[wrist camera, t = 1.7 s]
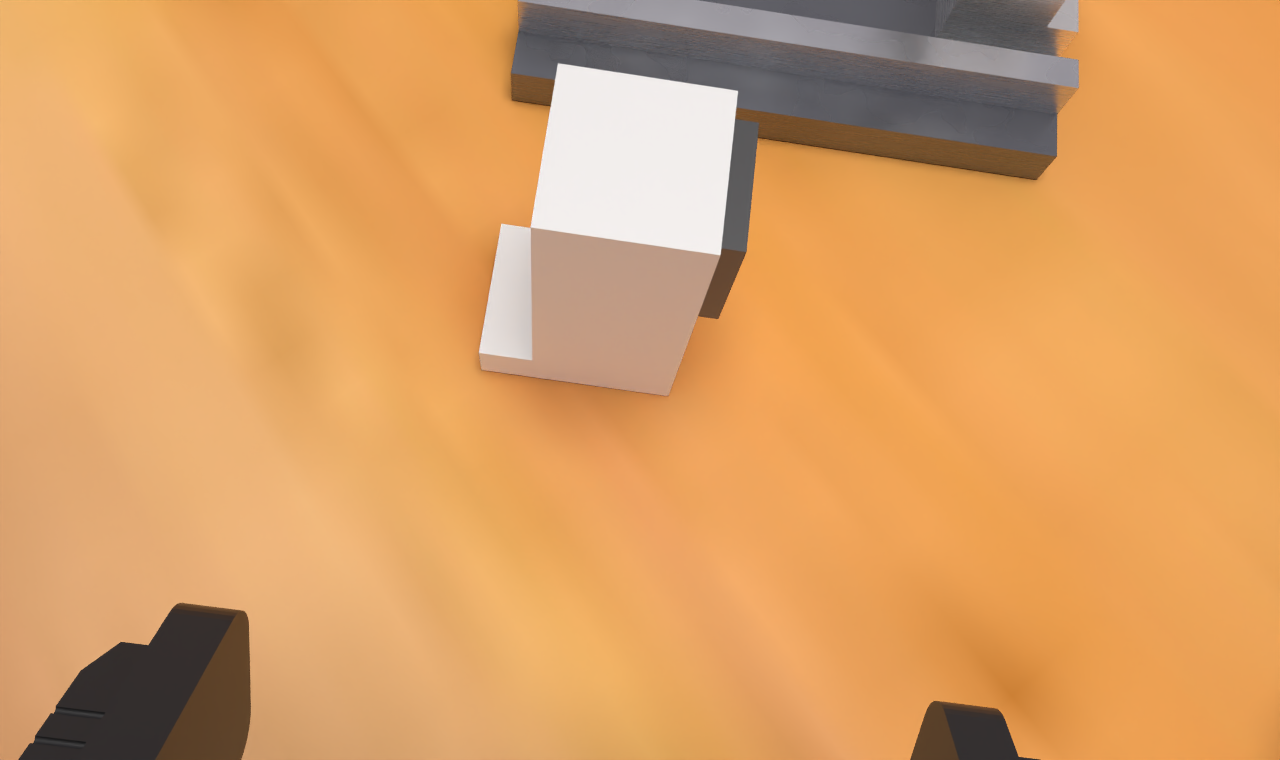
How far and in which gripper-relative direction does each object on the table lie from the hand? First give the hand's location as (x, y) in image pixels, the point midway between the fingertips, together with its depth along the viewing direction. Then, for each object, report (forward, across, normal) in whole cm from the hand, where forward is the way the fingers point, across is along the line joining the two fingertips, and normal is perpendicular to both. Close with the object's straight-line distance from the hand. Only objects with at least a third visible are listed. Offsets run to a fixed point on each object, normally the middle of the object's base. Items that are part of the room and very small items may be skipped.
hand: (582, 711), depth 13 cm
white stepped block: (+21, 0, +4) cm, 21 cm away
